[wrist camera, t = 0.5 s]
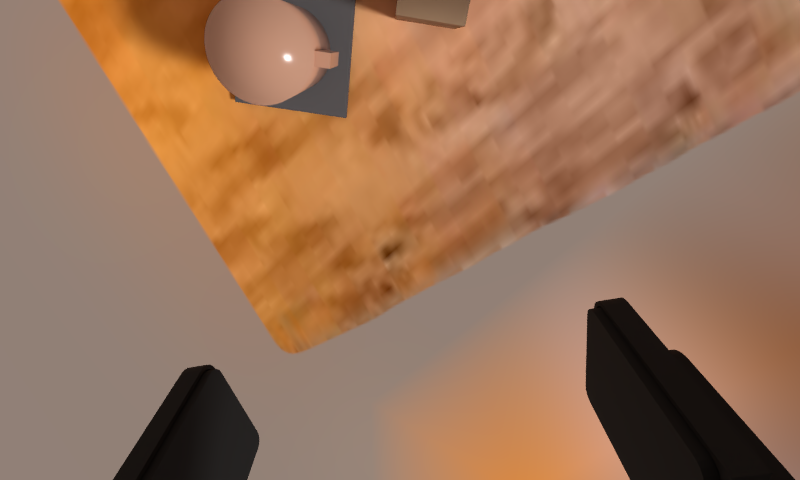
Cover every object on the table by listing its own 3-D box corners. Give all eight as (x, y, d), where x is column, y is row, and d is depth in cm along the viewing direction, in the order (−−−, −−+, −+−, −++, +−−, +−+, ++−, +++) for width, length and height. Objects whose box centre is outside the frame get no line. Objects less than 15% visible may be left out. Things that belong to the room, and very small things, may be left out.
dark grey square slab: (231, -30, 30) (228, -32, 30) (356, -9, 31) (355, -10, 31) (237, 100, 35) (235, 101, 34) (346, 116, 36) (345, 118, 35)
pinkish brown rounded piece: (251, -3, 31) (199, -18, 23) (346, 13, 31) (328, 3, 23) (253, 84, 34) (208, 97, 26) (340, 97, 34) (322, 114, 26)
